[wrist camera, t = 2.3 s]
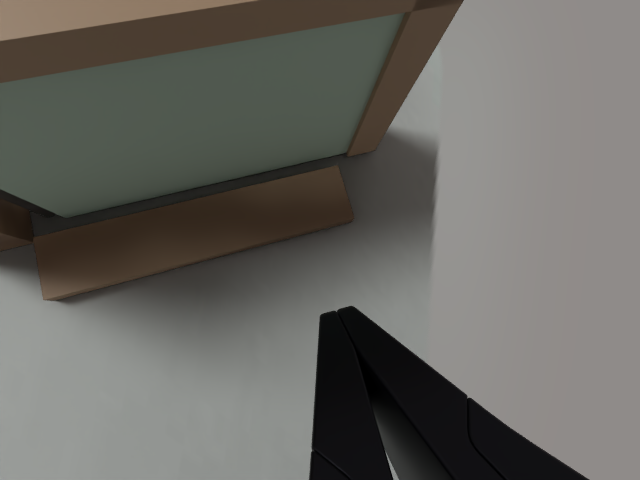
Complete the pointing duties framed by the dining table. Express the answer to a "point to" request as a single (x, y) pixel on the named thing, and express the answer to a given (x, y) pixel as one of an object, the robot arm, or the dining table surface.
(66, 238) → the gate frame
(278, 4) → the board
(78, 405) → the dining table surface
